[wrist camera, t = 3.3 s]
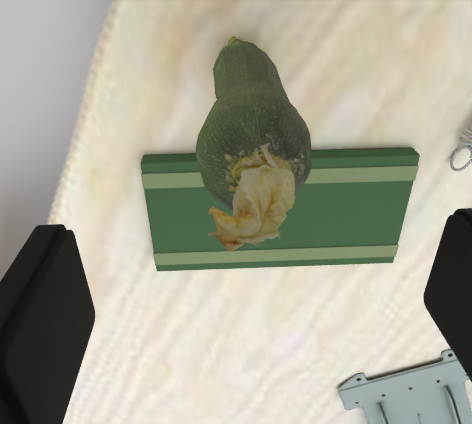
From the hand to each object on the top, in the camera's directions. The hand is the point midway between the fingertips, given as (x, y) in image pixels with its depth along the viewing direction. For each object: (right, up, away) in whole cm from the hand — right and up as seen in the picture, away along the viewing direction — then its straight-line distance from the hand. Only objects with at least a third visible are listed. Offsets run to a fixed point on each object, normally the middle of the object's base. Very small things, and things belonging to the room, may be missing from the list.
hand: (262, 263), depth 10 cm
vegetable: (-1, +11, +17) cm, 20 cm away
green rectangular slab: (+3, +2, +22) cm, 23 cm away
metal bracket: (+20, -21, +38) cm, 47 cm away
